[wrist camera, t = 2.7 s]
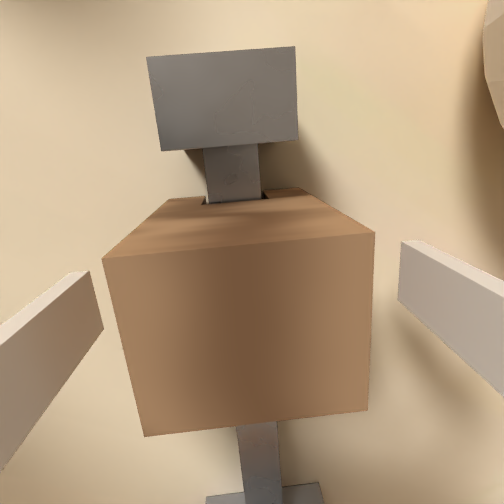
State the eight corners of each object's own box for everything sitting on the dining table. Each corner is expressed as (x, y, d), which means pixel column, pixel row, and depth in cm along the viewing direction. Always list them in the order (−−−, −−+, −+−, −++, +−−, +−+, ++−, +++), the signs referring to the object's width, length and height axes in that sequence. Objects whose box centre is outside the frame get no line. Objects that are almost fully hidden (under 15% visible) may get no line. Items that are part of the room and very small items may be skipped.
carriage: (184, 297, 20) (144, 436, 10) (168, 199, 18) (101, 258, 8) (301, 285, 20) (367, 410, 10) (298, 187, 18) (375, 232, 9)
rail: (231, 493, 26) (232, 593, 20) (174, 88, 16) (145, 56, 11) (293, 485, 26) (312, 582, 20) (272, 80, 17) (295, 46, 11)
